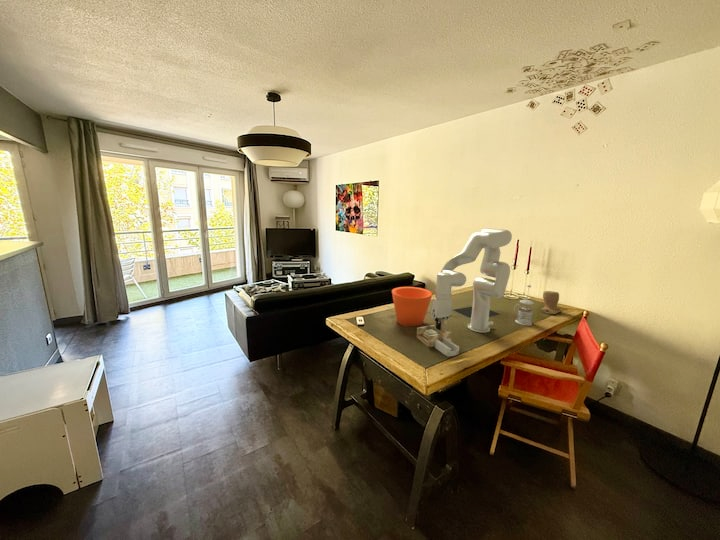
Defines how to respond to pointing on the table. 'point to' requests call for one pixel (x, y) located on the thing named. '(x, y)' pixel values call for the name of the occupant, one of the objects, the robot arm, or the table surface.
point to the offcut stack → (428, 333)
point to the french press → (527, 310)
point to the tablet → (468, 312)
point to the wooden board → (443, 326)
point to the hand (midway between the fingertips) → (440, 328)
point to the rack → (432, 337)
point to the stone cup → (550, 302)
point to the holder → (447, 347)
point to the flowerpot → (411, 305)
